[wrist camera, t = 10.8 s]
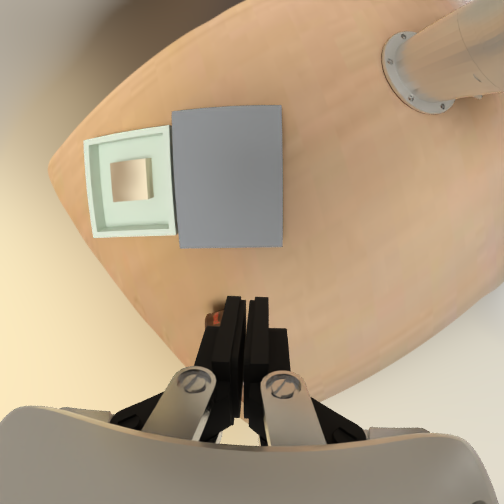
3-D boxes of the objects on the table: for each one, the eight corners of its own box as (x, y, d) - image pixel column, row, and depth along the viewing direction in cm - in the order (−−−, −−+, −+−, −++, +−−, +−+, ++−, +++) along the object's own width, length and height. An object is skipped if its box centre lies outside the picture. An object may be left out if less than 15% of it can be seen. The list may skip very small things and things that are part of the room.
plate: (279, 110, 30) (281, 105, 27) (280, 238, 36) (282, 247, 33) (180, 115, 31) (171, 111, 28) (187, 239, 36) (180, 248, 33)
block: (109, 163, 30) (117, 162, 32) (113, 202, 32) (120, 199, 34) (145, 158, 30) (151, 157, 32) (148, 199, 32) (153, 196, 34)
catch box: (176, 127, 31) (169, 125, 29) (182, 228, 36) (175, 235, 33) (95, 140, 32) (83, 140, 29) (104, 231, 36) (93, 237, 33)
